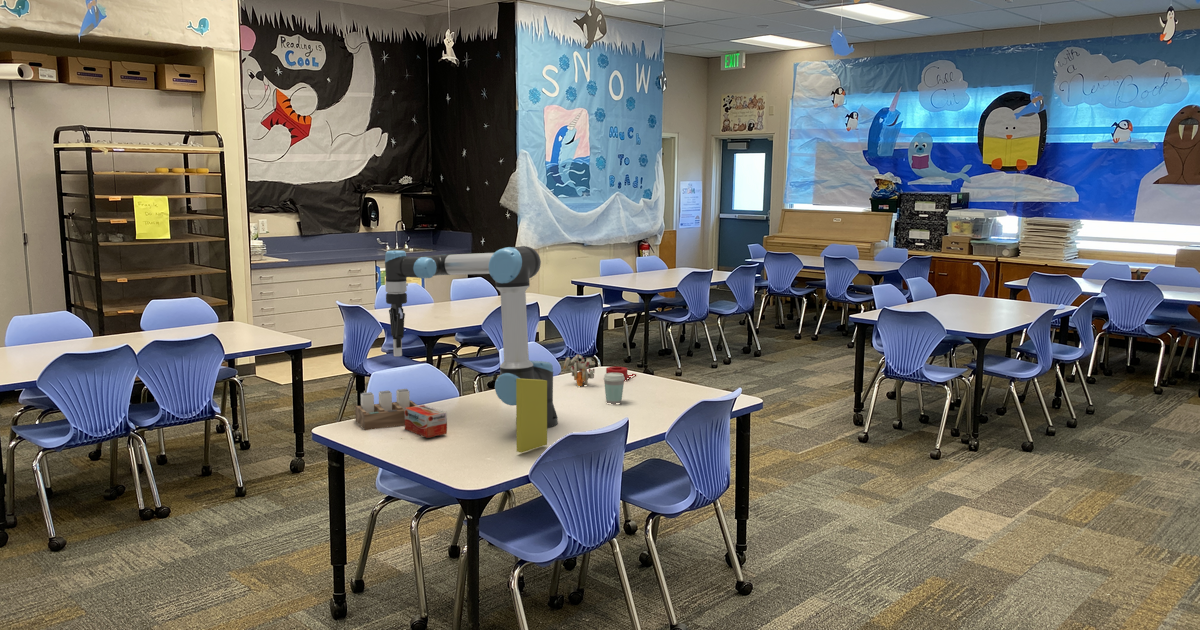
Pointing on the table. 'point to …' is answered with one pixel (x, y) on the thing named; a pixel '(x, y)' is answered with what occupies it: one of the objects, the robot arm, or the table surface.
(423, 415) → the medicine box
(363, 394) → the tab
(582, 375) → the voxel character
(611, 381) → the coffee cup
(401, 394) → the tab
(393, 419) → the wooden slotted rack
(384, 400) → the tab
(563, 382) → the table surface
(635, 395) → the table surface
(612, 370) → the red barrier tape roll
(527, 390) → the flat olive board
